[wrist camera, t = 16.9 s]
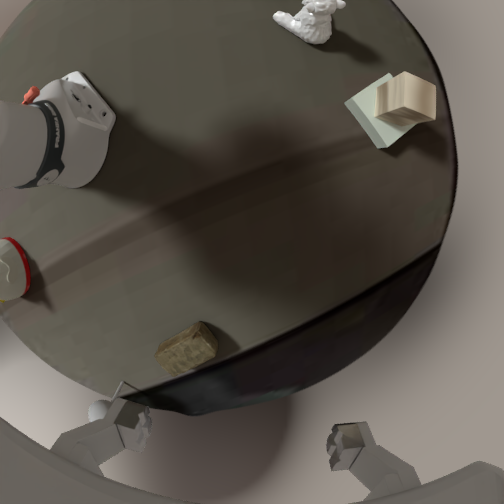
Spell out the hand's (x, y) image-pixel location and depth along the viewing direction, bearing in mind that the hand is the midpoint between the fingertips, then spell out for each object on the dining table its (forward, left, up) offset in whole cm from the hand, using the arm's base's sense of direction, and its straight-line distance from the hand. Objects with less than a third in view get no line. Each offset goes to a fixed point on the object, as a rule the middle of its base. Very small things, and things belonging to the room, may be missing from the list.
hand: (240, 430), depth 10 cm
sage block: (-9, +29, -34) cm, 46 cm away
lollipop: (+15, -40, -34) cm, 55 cm away
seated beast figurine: (-27, +26, -34) cm, 50 cm away
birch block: (-9, +29, -30) cm, 43 cm away
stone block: (+12, -19, -34) cm, 41 cm away
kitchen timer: (-21, -50, -34) cm, 64 cm away
